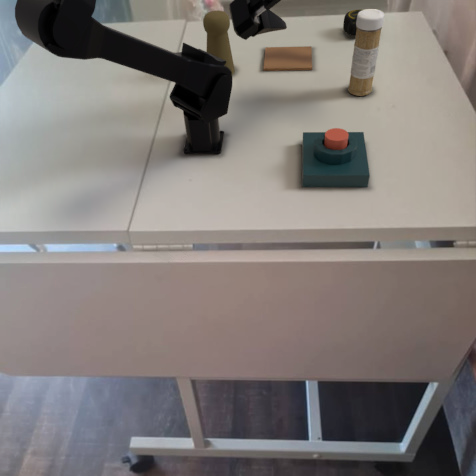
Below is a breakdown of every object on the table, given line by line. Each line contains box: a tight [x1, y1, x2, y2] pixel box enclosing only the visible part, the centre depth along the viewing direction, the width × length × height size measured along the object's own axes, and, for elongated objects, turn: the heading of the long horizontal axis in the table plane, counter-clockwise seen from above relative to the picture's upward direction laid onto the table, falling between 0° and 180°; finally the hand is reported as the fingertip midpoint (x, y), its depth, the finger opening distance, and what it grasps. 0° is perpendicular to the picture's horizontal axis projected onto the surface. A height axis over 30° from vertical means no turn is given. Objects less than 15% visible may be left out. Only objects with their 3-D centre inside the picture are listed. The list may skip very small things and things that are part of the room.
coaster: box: [262, 46, 313, 72], centre depth 102 cm, size 10×10×1 cm
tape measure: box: [342, 9, 363, 37], centre depth 107 cm, size 7×7×4 cm
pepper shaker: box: [202, 10, 236, 76], centre depth 96 cm, size 6×6×11 cm
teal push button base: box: [301, 131, 371, 188], centre depth 76 cm, size 12×10×4 cm
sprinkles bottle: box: [348, 8, 385, 97], centre depth 87 cm, size 5×5×14 cm
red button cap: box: [324, 127, 349, 150], centre depth 74 cm, size 4×4×2 cm
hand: (307, 10), depth 82 cm, fingers open, 9 cm apart
